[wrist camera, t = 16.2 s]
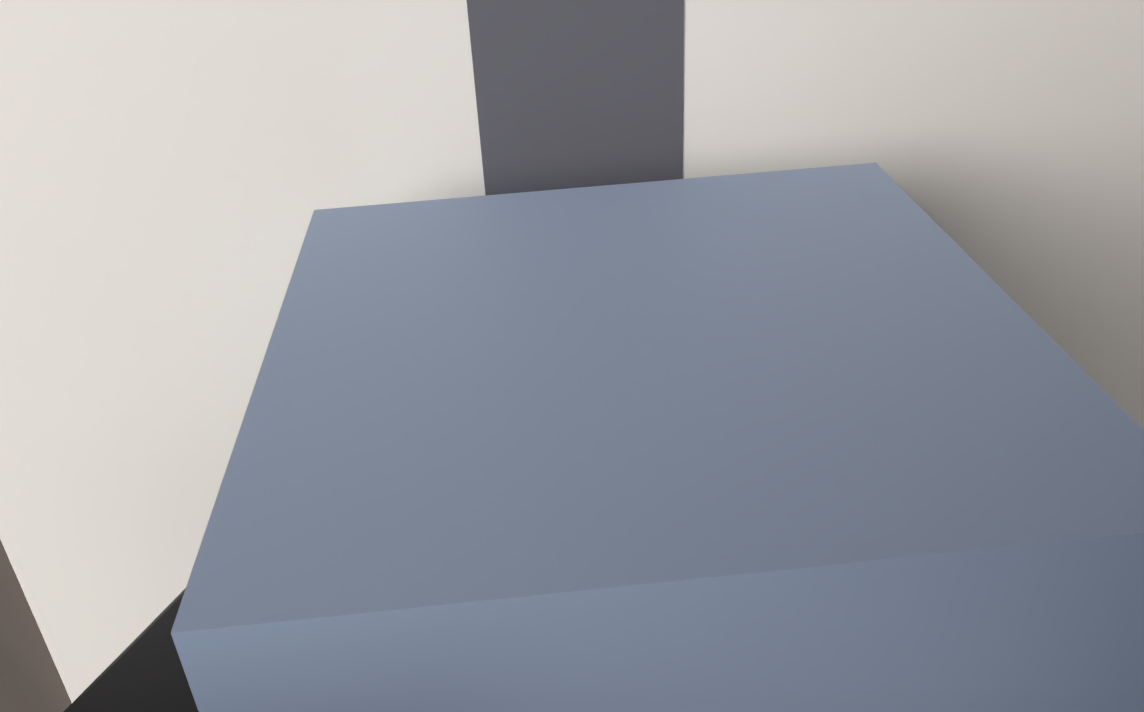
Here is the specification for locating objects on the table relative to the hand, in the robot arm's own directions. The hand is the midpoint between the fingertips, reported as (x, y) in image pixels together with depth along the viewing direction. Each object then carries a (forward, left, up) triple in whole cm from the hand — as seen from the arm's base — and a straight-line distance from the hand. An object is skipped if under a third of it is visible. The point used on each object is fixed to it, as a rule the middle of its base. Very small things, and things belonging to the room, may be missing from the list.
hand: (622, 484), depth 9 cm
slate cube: (0, 0, -1) cm, 1 cm away
